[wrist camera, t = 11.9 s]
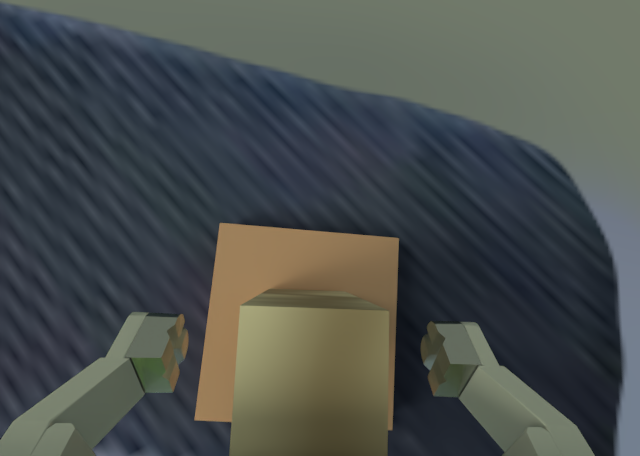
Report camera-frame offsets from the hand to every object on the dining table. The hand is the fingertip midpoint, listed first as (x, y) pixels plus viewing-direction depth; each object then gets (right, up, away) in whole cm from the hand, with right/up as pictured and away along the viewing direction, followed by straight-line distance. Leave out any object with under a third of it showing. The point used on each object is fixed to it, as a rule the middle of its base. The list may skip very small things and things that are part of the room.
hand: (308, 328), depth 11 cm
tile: (-1, -2, +9) cm, 9 cm away
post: (0, -2, +6) cm, 7 cm away
